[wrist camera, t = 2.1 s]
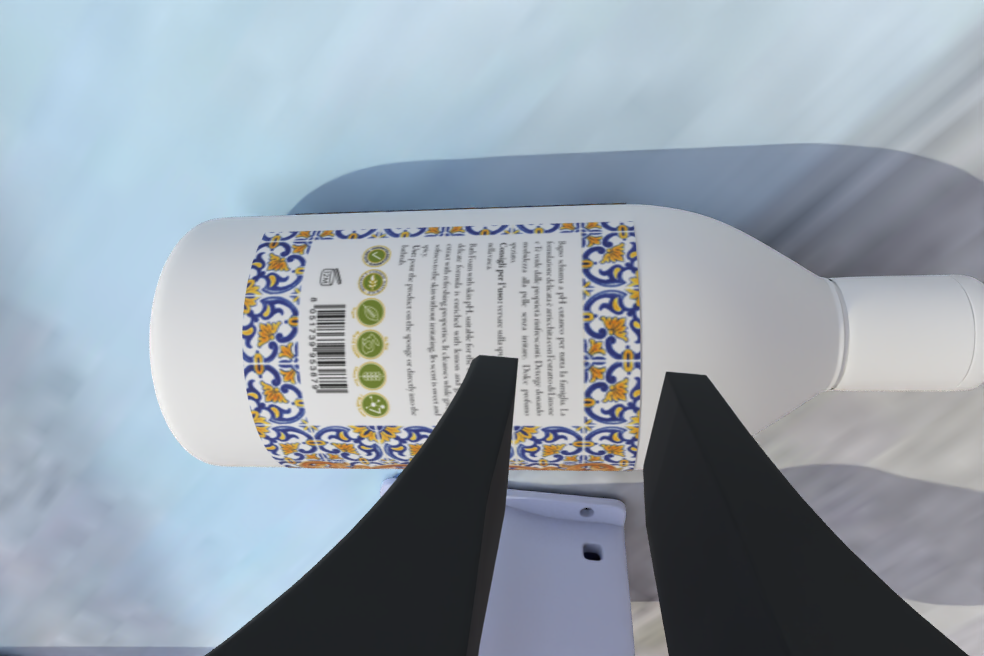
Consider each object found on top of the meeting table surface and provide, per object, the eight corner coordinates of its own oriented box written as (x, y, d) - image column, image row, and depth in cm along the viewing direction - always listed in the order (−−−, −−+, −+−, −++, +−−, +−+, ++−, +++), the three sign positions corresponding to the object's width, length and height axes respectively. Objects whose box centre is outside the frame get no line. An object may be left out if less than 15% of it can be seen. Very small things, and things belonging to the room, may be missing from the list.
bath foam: (174, 519, 18) (1023, 534, 16) (107, 254, 15) (1103, 227, 13) (279, 397, 24) (889, 395, 22) (243, 197, 22) (926, 172, 20)
